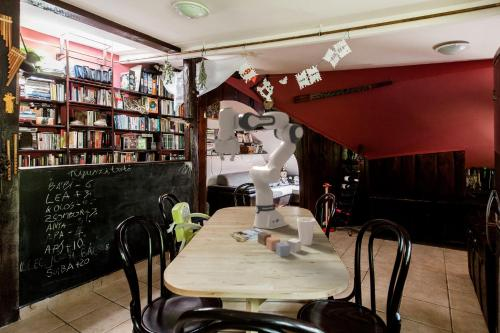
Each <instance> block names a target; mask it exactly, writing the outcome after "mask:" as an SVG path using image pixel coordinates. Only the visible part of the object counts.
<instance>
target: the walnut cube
mask: <svg viewBox="0 0 500 333" xmlns="http://www.w3.org/2000/svg"><path fill="white" fill-rule="evenodd" d="M270 237H272V234H271V233H270V232H266V231H263V232H259V233H257V243H258V244H260V245H262V246H265V245H266V238H270Z"/></svg>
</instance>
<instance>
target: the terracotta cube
mask: <svg viewBox="0 0 500 333" xmlns="http://www.w3.org/2000/svg"><path fill="white" fill-rule="evenodd" d="M276 243H281V239H280V238H278V237H276V236H271V237H270V238H266V246H265V247H266V249H268V250H270V251H276Z"/></svg>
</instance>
